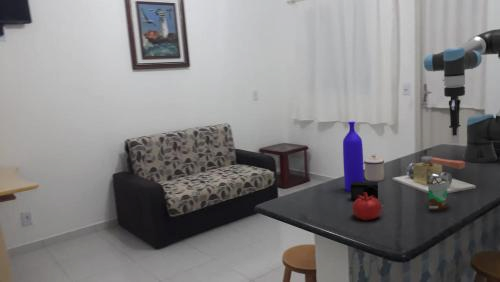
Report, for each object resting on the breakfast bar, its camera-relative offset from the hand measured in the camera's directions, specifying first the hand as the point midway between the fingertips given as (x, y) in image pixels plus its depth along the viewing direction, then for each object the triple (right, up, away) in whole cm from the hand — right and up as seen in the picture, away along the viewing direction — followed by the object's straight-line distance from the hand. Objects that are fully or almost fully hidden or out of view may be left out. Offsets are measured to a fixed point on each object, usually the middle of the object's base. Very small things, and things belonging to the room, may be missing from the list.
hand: (455, 142), depth 166 cm
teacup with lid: (-28, -17, +22) cm, 40 cm away
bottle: (-41, -21, +7) cm, 46 cm away
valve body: (-9, -17, +5) cm, 20 cm away
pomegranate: (-45, -27, -25) cm, 58 cm away
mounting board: (-7, -18, +6) cm, 20 cm away
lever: (-7, -9, -2) cm, 11 cm away
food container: (-17, -24, -21) cm, 36 cm away
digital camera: (-40, -23, -7) cm, 47 cm away
